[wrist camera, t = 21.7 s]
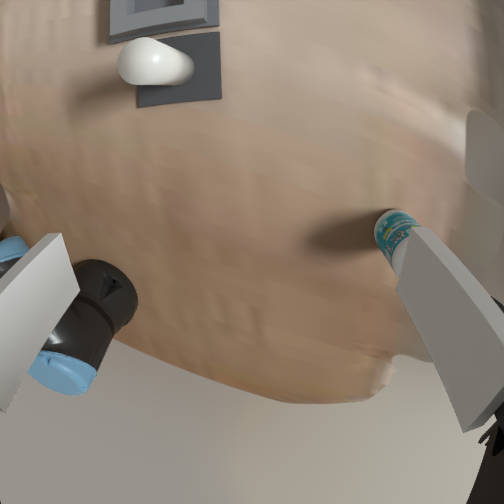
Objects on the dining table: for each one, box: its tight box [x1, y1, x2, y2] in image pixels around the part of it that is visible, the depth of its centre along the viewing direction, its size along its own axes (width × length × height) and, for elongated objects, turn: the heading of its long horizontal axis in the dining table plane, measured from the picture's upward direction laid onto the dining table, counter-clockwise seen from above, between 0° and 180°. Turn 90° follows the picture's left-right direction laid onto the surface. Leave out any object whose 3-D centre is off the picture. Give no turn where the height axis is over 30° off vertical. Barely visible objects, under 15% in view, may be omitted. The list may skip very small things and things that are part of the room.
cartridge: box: [117, 37, 195, 86], centre depth 30 cm, size 5×5×14 cm
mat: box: [137, 32, 222, 107], centre depth 36 cm, size 12×10×1 cm
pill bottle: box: [374, 209, 421, 277], centre depth 42 cm, size 8×7×14 cm
